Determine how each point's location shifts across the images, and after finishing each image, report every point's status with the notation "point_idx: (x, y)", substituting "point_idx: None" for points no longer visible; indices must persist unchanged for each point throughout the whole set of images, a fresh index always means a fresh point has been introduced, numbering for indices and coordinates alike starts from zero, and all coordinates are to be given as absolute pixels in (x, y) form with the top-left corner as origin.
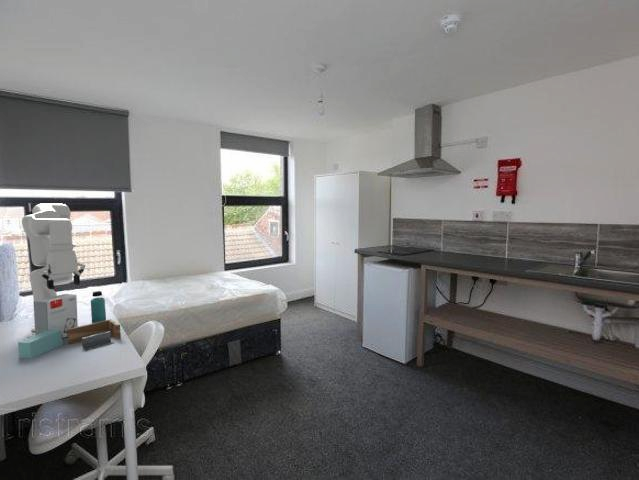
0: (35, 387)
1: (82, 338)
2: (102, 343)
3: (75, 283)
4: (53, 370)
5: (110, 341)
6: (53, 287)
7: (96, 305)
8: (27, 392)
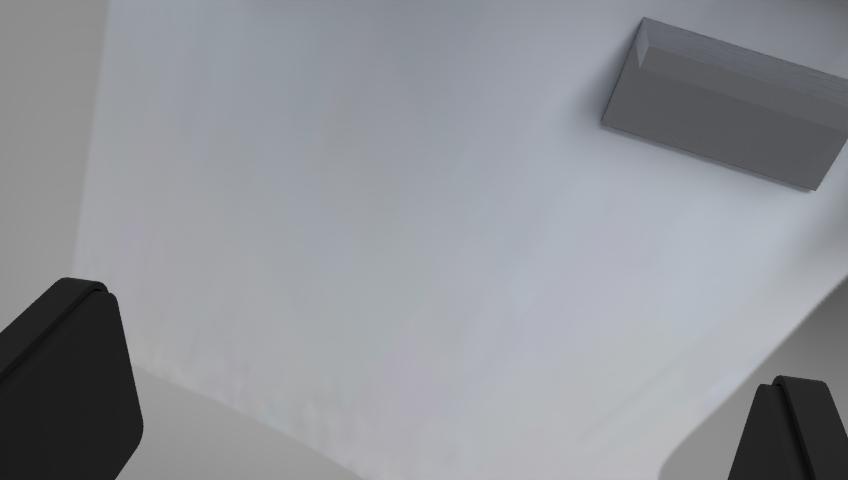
0: (179, 317)
1: (643, 58)
2: (763, 119)
3: (739, 477)
4: (305, 220)
5: (825, 144)
6: (112, 470)
7: None
8: (143, 329)
